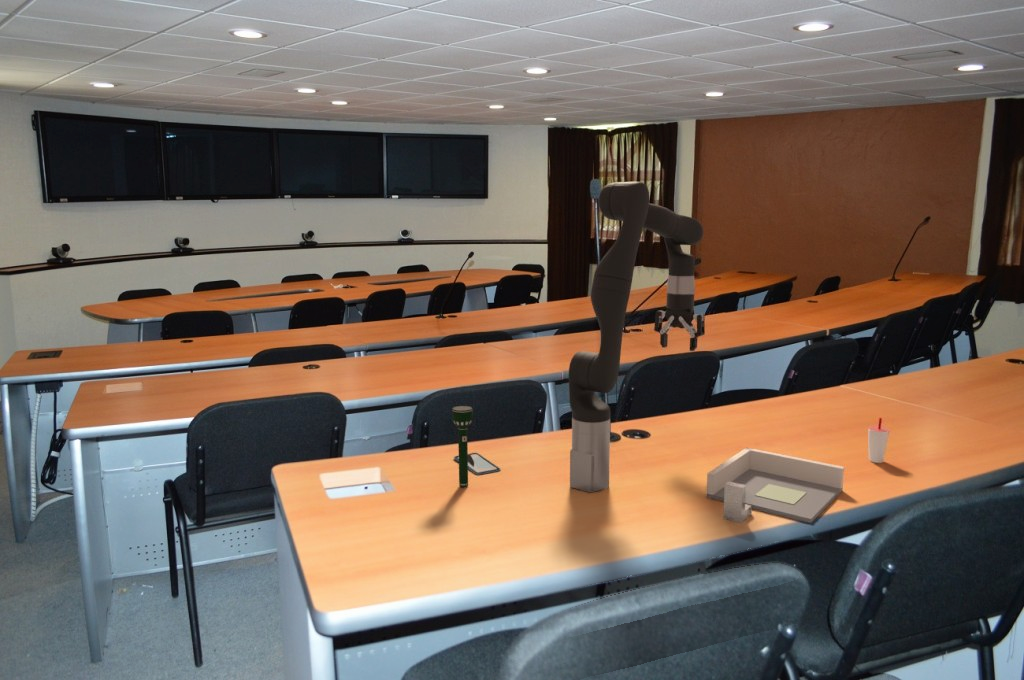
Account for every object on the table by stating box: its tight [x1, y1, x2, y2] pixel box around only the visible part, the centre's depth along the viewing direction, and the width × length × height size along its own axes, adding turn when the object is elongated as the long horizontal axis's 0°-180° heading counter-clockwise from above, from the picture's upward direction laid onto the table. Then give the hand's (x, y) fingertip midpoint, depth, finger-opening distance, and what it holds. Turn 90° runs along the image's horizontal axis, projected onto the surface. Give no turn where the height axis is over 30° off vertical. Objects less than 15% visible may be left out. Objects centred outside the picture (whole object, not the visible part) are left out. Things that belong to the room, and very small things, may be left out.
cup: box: [867, 417, 891, 464], centre depth 201 cm, size 5×5×12 cm
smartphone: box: [453, 452, 501, 476], centre depth 201 cm, size 7×1×15 cm
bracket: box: [722, 481, 753, 524], centre depth 166 cm, size 6×4×8 cm, turn 141°
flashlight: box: [451, 404, 474, 489], centre depth 183 cm, size 5×5×20 cm
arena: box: [706, 447, 845, 524], centre depth 179 cm, size 24×24×6 cm
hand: (678, 348), depth 212 cm, fingers open, 8 cm apart
